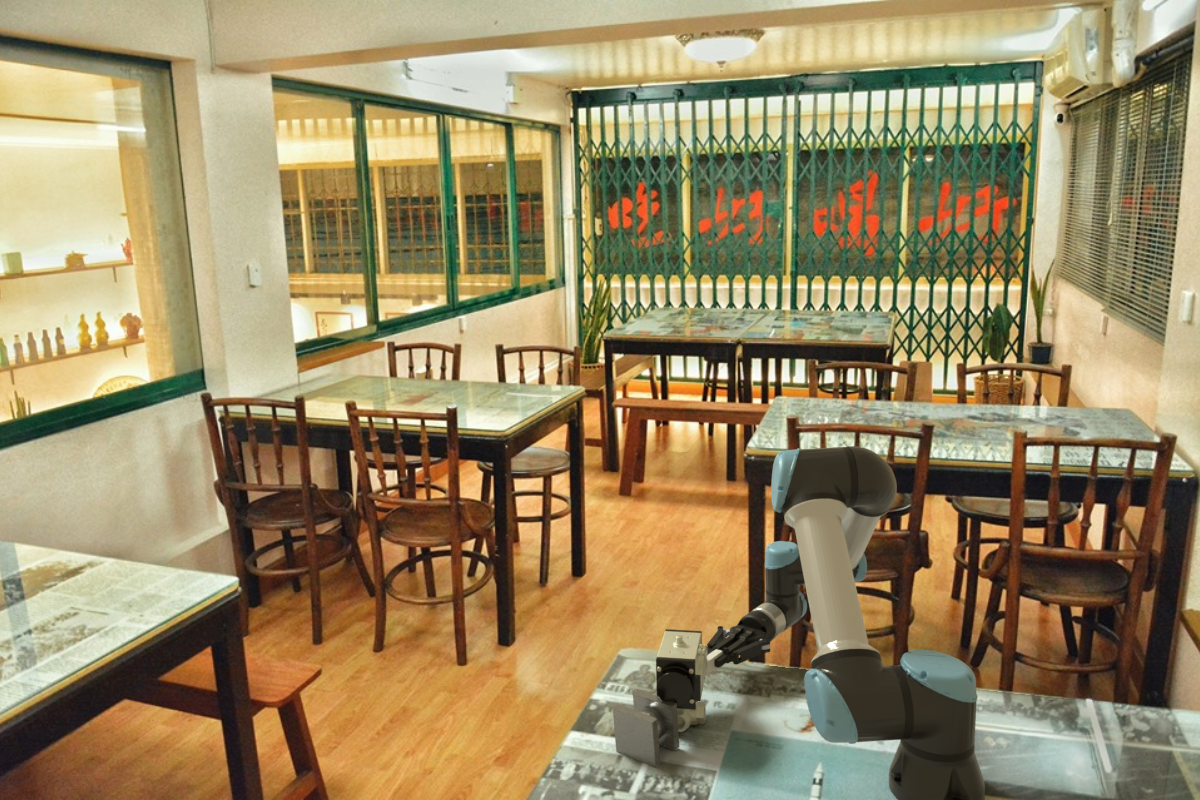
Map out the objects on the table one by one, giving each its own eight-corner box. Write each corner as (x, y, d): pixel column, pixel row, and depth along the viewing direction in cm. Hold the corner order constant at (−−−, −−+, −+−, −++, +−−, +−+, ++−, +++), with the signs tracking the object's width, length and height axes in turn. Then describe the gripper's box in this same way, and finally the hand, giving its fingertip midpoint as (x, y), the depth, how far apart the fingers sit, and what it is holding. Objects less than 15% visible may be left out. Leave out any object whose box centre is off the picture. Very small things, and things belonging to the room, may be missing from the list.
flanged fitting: (679, 746, 171) (676, 703, 169) (655, 767, 166) (652, 722, 164) (640, 731, 177) (637, 689, 175) (616, 751, 172) (612, 707, 170)
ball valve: (702, 749, 170) (700, 658, 167) (656, 745, 172) (654, 655, 169) (710, 701, 188) (709, 618, 185) (668, 698, 189) (666, 616, 186)
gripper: (788, 649, 199) (730, 695, 182) (735, 634, 208) (675, 677, 190) (787, 616, 198) (729, 659, 180) (734, 603, 206) (674, 643, 188)
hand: (702, 668), depth 185 cm, fingers closed
